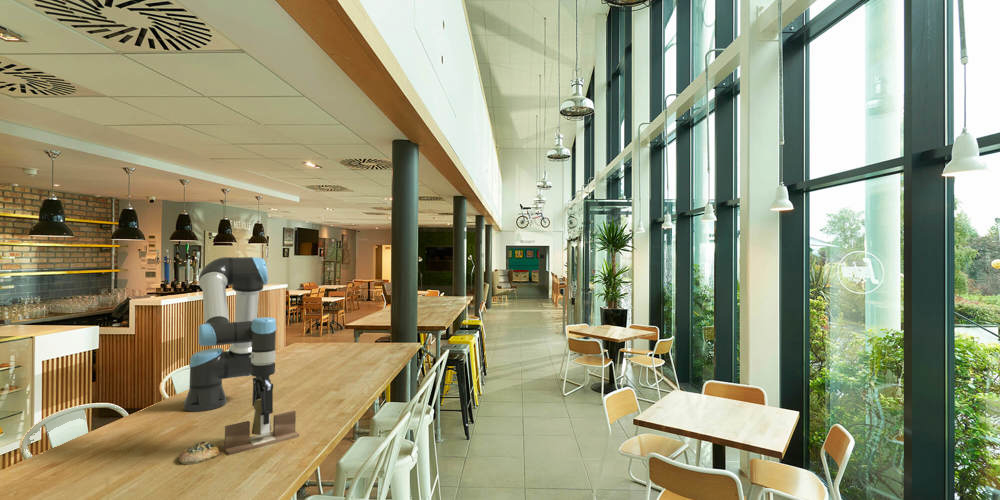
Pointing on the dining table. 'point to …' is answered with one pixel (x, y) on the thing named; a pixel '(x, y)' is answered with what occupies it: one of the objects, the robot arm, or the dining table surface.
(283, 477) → the dining table surface
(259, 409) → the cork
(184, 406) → the robot arm
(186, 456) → the bread roll
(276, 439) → the notched board
